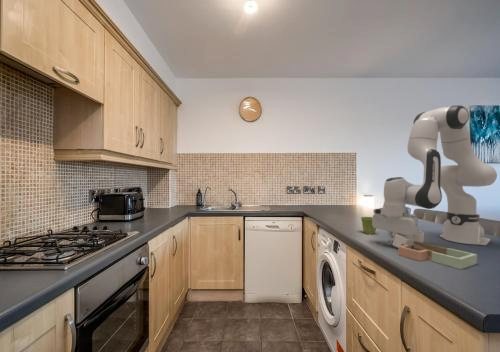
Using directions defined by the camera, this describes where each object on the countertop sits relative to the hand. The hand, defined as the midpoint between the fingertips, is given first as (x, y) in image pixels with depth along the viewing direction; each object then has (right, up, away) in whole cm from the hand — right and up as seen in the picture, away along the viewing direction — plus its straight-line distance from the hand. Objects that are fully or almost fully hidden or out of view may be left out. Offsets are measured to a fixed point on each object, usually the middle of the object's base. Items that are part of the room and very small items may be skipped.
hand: (393, 241), depth 112 cm
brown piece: (+6, -2, -11) cm, 13 cm away
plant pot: (+2, -3, +27) cm, 27 cm away
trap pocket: (0, -2, -14) cm, 15 cm away
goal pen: (+11, -2, -20) cm, 23 cm away
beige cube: (+12, -3, +3) cm, 13 cm away
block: (+2, -2, -3) cm, 4 cm away
